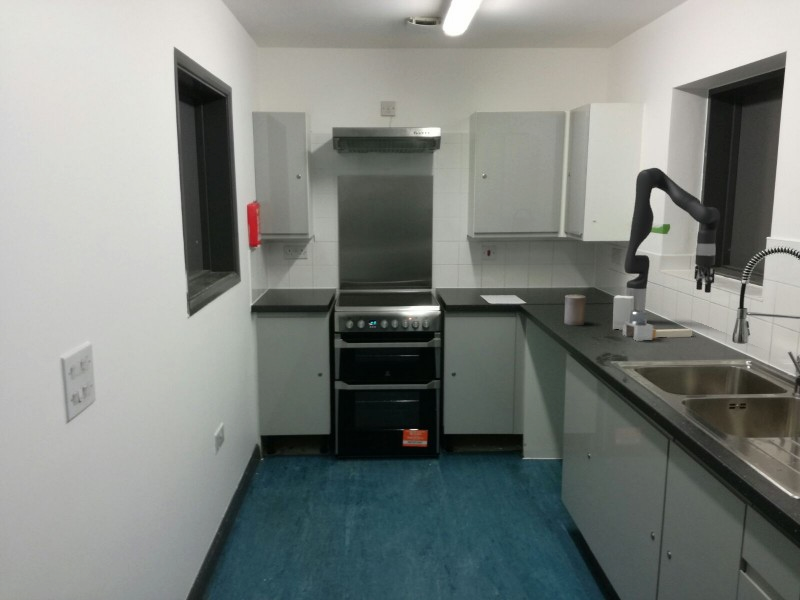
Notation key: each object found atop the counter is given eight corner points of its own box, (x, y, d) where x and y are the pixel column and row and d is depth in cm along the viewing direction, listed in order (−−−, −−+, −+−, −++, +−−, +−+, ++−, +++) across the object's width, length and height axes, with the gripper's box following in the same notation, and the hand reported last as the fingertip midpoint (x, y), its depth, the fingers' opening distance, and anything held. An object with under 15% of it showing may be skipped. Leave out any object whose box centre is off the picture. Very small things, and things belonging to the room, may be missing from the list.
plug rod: (639, 336, 265) (640, 327, 265) (687, 334, 269) (687, 326, 268) (644, 338, 261) (645, 329, 261) (692, 337, 265) (693, 328, 264)
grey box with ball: (622, 334, 268) (624, 309, 266) (636, 334, 269) (638, 308, 267) (636, 341, 257) (638, 314, 255) (651, 340, 258) (654, 314, 256)
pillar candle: (587, 323, 293) (588, 292, 291) (581, 326, 285) (582, 295, 283) (567, 321, 298) (568, 291, 296) (561, 324, 290) (562, 293, 288)
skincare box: (632, 328, 281) (635, 296, 278) (630, 331, 275) (632, 298, 272) (614, 326, 285) (616, 294, 282) (611, 329, 279) (613, 296, 276)
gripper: (689, 252, 265) (687, 289, 268) (703, 255, 251) (701, 293, 254) (707, 252, 265) (705, 288, 267) (722, 255, 250) (719, 293, 253)
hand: (703, 291), depth 260 cm, fingers open, 8 cm apart
